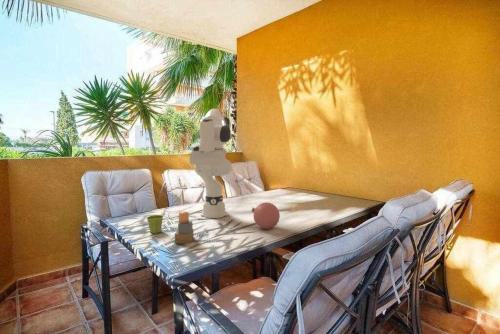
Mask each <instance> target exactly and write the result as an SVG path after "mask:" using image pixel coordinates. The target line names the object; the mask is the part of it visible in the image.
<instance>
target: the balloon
mask: <svg viewBox="0 0 500 334" xmlns="http://www.w3.org/2000/svg"><path fill="white" fill-rule="evenodd" d="M251 213H253V220H254V222H255V224H256V225H257V226H258V227H259V228H260V229H263V230H270V229H273V228H274V227H276V225H278V223H279V221H280V216H281V215H280V210H279V208H278V207H277V206H276V205H275V204H273V203H271V202H262V203H260V204H258V205H257V206H256V208H255V207H252V209H251Z"/></svg>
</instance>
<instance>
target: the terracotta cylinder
mask: <svg viewBox="0 0 500 334" xmlns="http://www.w3.org/2000/svg"><path fill="white" fill-rule="evenodd" d="M189 216H190V215H189V212H188V211H179V212H178V224H179V223H181V224H185V223H188V222H189V221H190V220H189Z"/></svg>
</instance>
